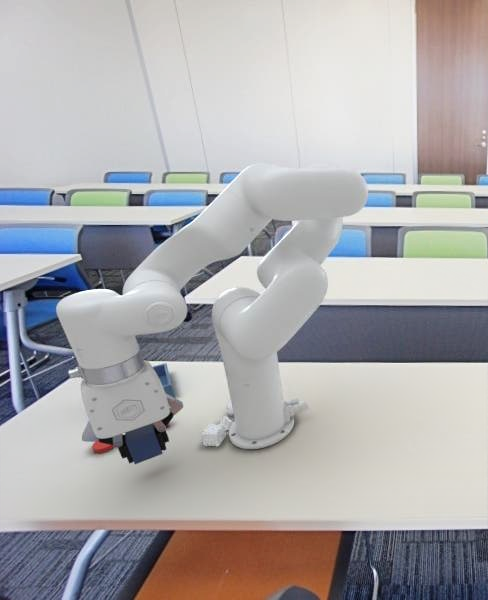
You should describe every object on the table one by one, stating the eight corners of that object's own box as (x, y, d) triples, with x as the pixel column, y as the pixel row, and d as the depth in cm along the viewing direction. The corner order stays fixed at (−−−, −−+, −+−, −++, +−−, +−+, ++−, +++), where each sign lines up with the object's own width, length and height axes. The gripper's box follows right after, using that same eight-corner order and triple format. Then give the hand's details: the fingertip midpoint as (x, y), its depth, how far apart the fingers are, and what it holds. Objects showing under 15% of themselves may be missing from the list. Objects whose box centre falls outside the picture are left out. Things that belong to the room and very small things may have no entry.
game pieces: (219, 447, 79) (217, 434, 78) (203, 446, 79) (199, 434, 78) (247, 408, 90) (244, 396, 89) (232, 408, 90) (229, 396, 89)
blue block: (160, 440, 74) (152, 419, 72) (162, 453, 71) (154, 432, 69) (133, 450, 71) (124, 429, 69) (134, 464, 68) (125, 442, 66)
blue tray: (169, 374, 101) (166, 362, 99) (175, 397, 93) (171, 384, 91) (102, 392, 93) (97, 380, 92) (101, 418, 85) (97, 405, 84)
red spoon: (169, 420, 86) (167, 416, 85) (171, 430, 83) (169, 425, 83) (93, 444, 78) (91, 440, 78) (93, 456, 76) (91, 451, 75)
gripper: (39, 397, 56) (86, 490, 64) (178, 359, 66) (204, 443, 73) (45, 373, 61) (87, 460, 69) (173, 340, 71) (197, 420, 78)
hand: (147, 450), depth 71 cm, fingers closed on blue block, 4 cm apart
